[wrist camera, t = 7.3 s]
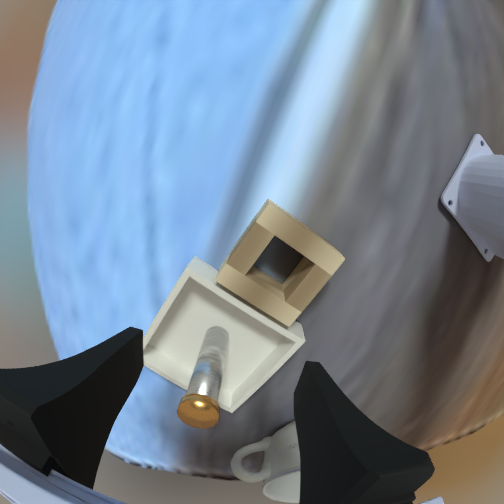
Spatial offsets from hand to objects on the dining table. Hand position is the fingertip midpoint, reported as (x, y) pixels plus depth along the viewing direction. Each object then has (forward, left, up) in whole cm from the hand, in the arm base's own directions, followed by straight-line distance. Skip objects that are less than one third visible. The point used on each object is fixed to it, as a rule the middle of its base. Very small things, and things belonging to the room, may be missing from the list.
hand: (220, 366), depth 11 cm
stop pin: (-1, +5, -10) cm, 11 cm away
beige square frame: (-1, -3, -10) cm, 11 cm away
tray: (-1, +5, -10) cm, 12 cm away
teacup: (-15, +11, -11) cm, 22 cm away
